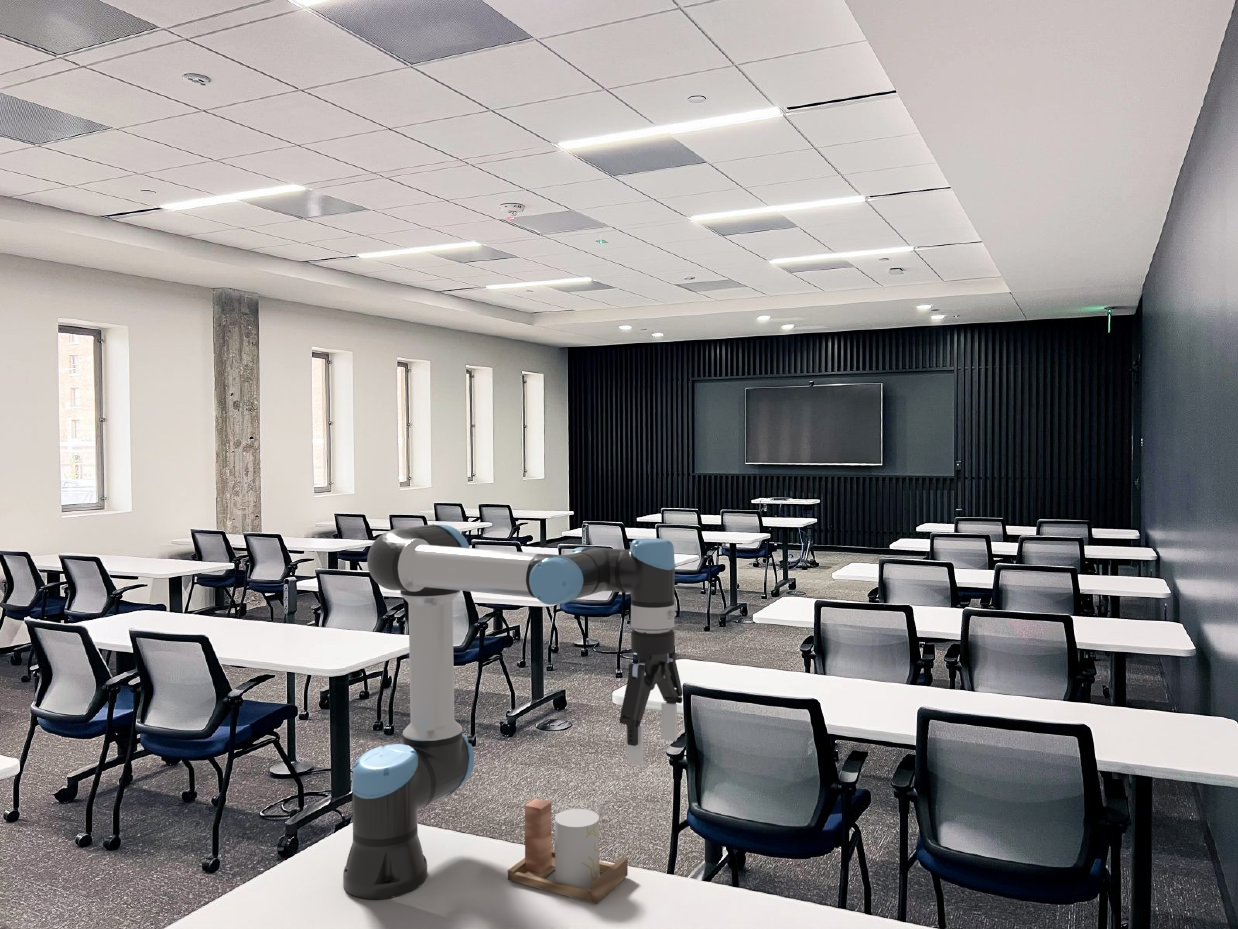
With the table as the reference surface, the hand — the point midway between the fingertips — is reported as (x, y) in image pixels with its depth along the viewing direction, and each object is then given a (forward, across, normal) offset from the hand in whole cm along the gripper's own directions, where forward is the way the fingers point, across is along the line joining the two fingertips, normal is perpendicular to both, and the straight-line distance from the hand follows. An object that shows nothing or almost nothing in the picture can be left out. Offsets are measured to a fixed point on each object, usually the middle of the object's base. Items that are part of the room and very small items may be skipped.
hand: (652, 751), depth 155 cm
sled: (+28, +2, +18) cm, 33 cm away
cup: (+28, +2, +16) cm, 32 cm away
